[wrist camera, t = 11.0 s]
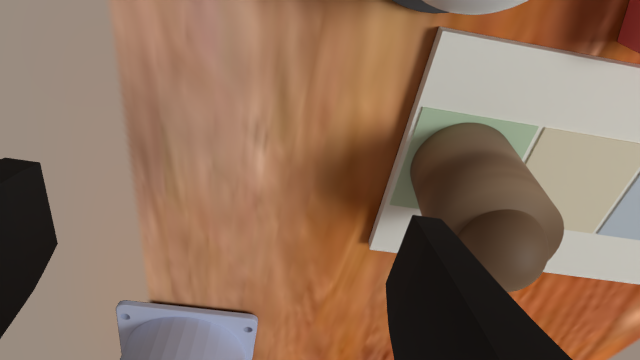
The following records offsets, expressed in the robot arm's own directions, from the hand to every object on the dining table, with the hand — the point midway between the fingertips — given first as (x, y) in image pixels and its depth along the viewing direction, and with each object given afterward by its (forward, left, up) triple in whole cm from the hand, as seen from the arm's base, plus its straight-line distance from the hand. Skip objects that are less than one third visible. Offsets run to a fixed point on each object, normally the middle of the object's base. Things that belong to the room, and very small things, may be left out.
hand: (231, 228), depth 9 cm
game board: (-3, -14, -10) cm, 17 cm away
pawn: (-3, -9, -9) cm, 13 cm away
